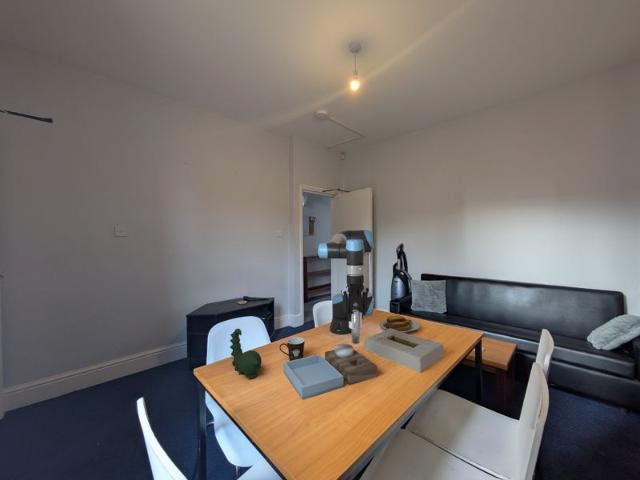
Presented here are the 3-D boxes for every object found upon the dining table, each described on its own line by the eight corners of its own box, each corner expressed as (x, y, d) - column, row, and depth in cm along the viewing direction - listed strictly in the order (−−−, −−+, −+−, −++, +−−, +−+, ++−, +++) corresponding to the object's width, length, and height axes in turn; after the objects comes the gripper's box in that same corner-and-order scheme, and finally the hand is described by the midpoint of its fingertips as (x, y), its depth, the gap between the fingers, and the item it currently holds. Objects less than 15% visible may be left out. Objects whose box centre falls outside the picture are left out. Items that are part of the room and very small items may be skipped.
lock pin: (350, 341, 116) (349, 310, 116) (356, 340, 118) (356, 309, 117) (354, 344, 113) (354, 312, 113) (361, 342, 115) (360, 311, 114)
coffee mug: (307, 357, 131) (307, 338, 131) (300, 366, 123) (300, 345, 123) (286, 354, 135) (286, 335, 135) (278, 362, 127) (278, 342, 127)
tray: (283, 372, 117) (283, 362, 117) (319, 363, 125) (319, 354, 125) (302, 399, 98) (302, 387, 98) (343, 387, 106) (343, 376, 106)
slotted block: (364, 351, 140) (421, 374, 116) (364, 336, 140) (420, 356, 116) (389, 340, 155) (444, 358, 131) (389, 327, 155) (444, 343, 131)
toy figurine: (225, 369, 124) (249, 387, 105) (223, 329, 125) (246, 339, 106) (244, 363, 130) (269, 379, 111) (242, 324, 131) (267, 333, 112)
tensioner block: (325, 362, 127) (324, 345, 127) (349, 356, 133) (349, 340, 133) (349, 385, 107) (349, 365, 107) (377, 376, 113) (376, 358, 113)
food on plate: (413, 338, 155) (413, 327, 155) (374, 330, 170) (374, 320, 170) (424, 326, 176) (424, 316, 176) (388, 319, 190) (388, 310, 190)
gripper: (343, 277, 108) (343, 333, 108) (375, 274, 115) (375, 327, 116) (334, 274, 114) (335, 327, 115) (365, 272, 122) (365, 321, 122)
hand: (355, 327), depth 115 cm, fingers closed on lock pin, 3 cm apart
